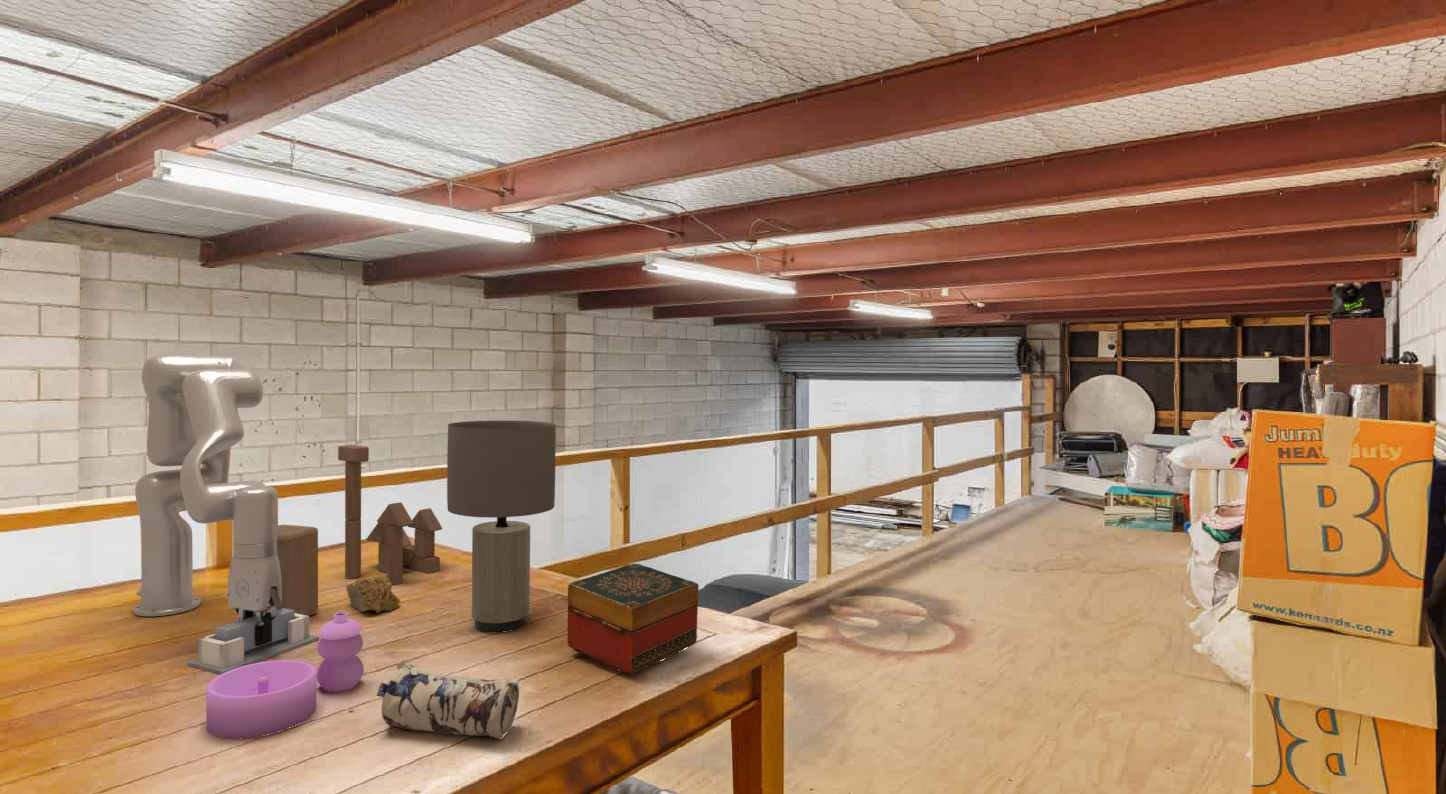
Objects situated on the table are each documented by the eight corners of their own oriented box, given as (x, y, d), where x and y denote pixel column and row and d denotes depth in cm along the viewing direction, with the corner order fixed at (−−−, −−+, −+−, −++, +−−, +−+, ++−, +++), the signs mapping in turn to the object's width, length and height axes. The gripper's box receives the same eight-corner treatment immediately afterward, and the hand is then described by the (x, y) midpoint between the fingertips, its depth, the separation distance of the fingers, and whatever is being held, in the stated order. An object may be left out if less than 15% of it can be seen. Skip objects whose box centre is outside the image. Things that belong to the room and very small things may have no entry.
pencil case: (373, 735, 120) (373, 673, 119) (405, 711, 128) (405, 653, 128) (503, 751, 116) (504, 687, 115) (528, 725, 124) (529, 666, 123)
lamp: (438, 645, 157) (439, 428, 155) (453, 610, 179) (455, 420, 177) (552, 639, 162) (555, 429, 160) (553, 606, 184) (556, 420, 182)
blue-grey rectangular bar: (227, 656, 144) (227, 630, 144) (214, 654, 146) (214, 627, 146) (294, 634, 157) (294, 610, 157) (282, 632, 159) (282, 607, 158)
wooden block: (286, 627, 165) (286, 535, 165) (247, 623, 167) (246, 532, 167) (319, 613, 175) (320, 526, 174) (281, 609, 177) (281, 523, 176)
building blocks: (390, 590, 193) (391, 452, 192) (331, 575, 206) (332, 444, 204) (453, 573, 210) (454, 446, 208) (395, 560, 222) (395, 439, 221)
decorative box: (641, 634, 169) (635, 559, 169) (710, 653, 153) (704, 570, 153) (562, 662, 155) (555, 581, 154) (629, 687, 139) (621, 596, 139)
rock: (355, 628, 180) (339, 589, 181) (390, 612, 186) (375, 574, 187) (372, 618, 172) (355, 577, 173) (409, 602, 179) (392, 562, 180)
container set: (241, 748, 115) (241, 661, 114) (186, 723, 122) (186, 641, 121) (387, 688, 136) (387, 615, 136) (332, 670, 144) (332, 600, 143)
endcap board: (187, 665, 144) (187, 639, 144) (284, 632, 163) (284, 608, 162) (223, 674, 140) (223, 647, 140) (318, 639, 159) (318, 615, 159)
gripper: (208, 549, 150) (209, 641, 151) (267, 558, 144) (267, 655, 145) (245, 541, 157) (246, 629, 158) (302, 550, 151) (303, 642, 152)
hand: (256, 641), depth 151 cm, fingers closed on blue-grey rectangular bar, 3 cm apart
